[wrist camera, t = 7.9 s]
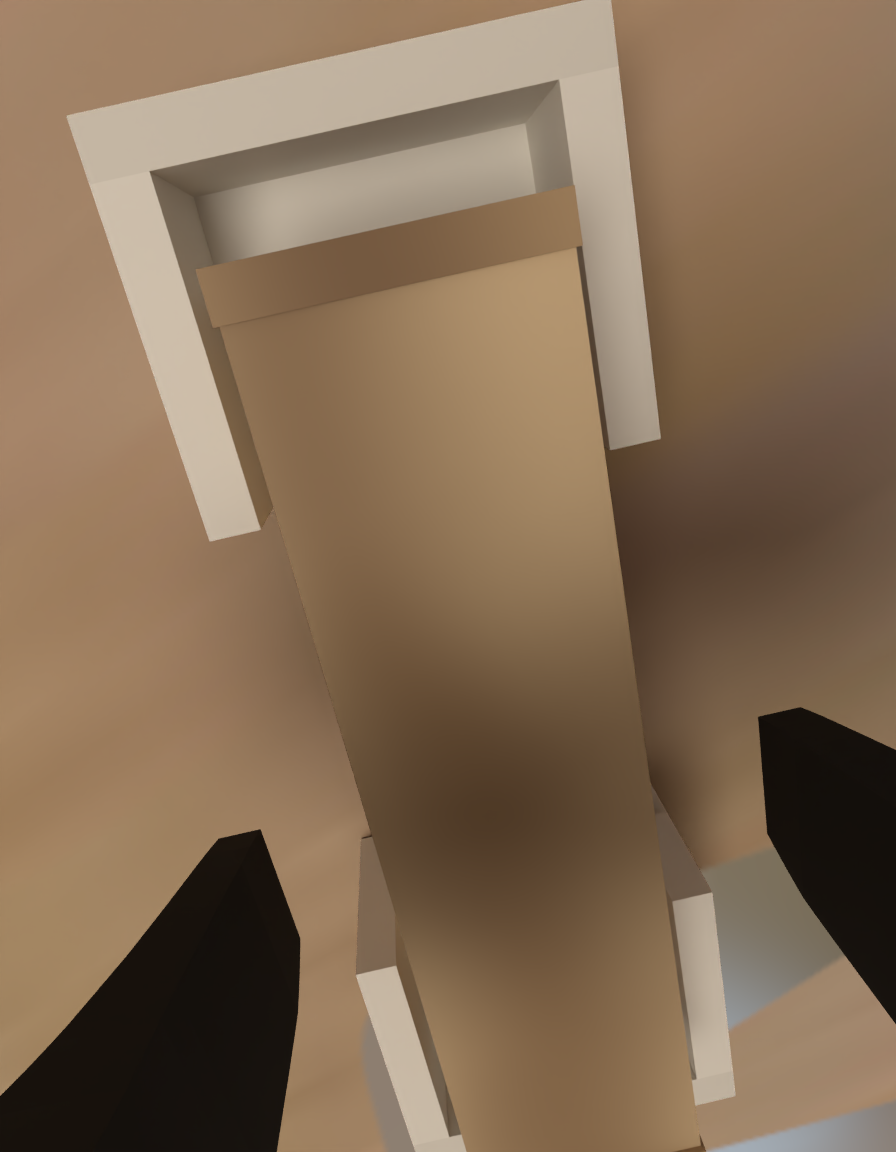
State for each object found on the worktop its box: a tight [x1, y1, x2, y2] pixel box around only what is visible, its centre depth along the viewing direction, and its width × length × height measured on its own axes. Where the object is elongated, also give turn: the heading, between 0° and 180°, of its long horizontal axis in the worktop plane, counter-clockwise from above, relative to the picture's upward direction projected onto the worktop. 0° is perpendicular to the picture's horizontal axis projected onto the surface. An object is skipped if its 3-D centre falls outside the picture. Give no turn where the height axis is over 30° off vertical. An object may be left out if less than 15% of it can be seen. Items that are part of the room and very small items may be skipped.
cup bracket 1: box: [67, 0, 661, 541], centre depth 13 cm, size 7×6×4 cm
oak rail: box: [195, 185, 706, 1152], centre depth 13 cm, size 4×16×5 cm, turn 12°
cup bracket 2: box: [356, 785, 736, 1152], centre depth 18 cm, size 7×6×4 cm
